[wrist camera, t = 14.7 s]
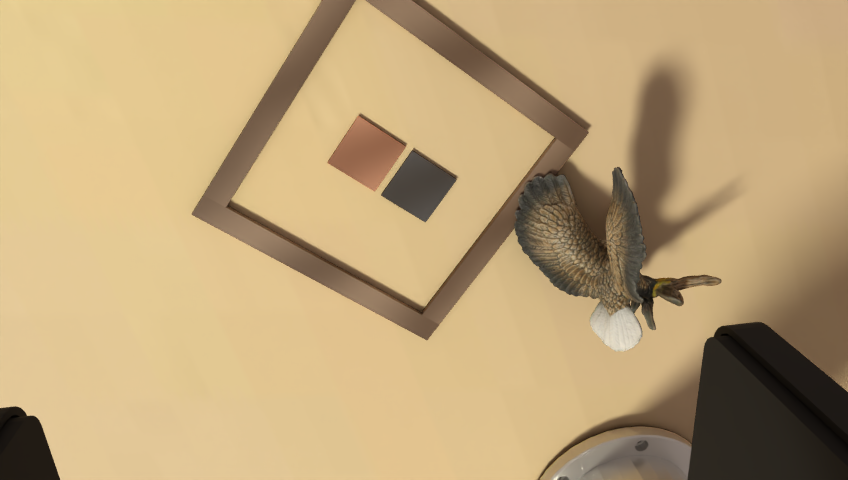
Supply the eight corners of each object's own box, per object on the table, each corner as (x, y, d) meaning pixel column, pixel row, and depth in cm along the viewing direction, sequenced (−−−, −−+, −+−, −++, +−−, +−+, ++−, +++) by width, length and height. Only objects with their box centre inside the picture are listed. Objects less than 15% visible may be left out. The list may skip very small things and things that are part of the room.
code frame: (587, 130, 34) (589, 132, 33) (426, 337, 38) (426, 340, 37) (350, -46, 29) (350, -46, 29) (192, 212, 33) (191, 214, 32)
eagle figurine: (711, 218, 36) (627, 124, 31) (731, 337, 32) (637, 252, 27) (588, 260, 40) (497, 184, 35) (592, 368, 36) (490, 301, 31)
